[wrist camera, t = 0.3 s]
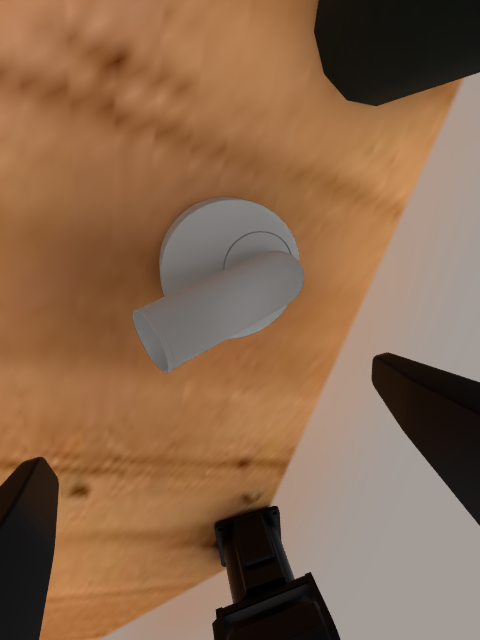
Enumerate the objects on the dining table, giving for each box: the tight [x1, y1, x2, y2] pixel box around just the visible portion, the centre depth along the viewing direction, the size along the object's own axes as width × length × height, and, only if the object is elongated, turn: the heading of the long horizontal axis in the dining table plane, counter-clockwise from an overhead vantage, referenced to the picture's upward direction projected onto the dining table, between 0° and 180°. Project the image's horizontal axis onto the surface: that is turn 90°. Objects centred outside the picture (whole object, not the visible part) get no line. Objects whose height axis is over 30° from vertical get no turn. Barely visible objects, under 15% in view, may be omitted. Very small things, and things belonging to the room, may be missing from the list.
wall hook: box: [133, 197, 304, 373], centre depth 18 cm, size 9×10×10 cm
